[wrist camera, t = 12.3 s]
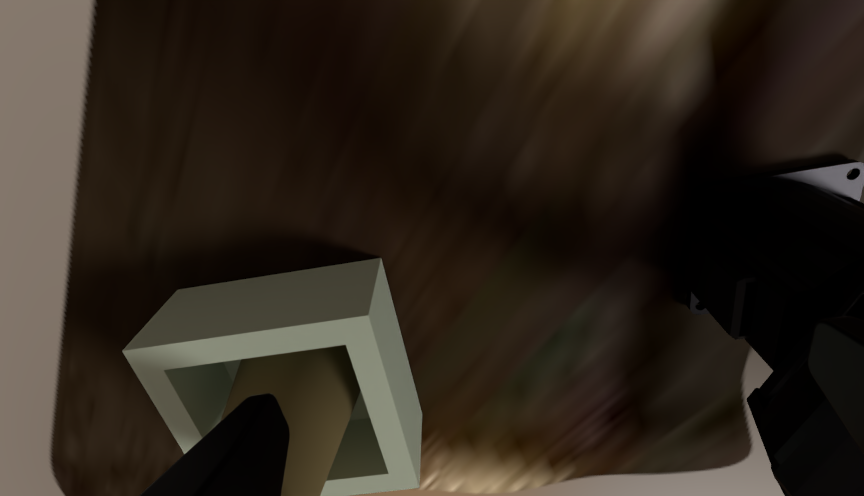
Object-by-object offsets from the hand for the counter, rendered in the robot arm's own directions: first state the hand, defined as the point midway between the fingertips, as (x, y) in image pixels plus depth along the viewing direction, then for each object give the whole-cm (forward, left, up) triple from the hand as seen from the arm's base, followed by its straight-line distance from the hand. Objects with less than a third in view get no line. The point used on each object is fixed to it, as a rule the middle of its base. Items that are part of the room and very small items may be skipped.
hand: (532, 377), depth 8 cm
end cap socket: (+10, +9, -13) cm, 19 cm away
